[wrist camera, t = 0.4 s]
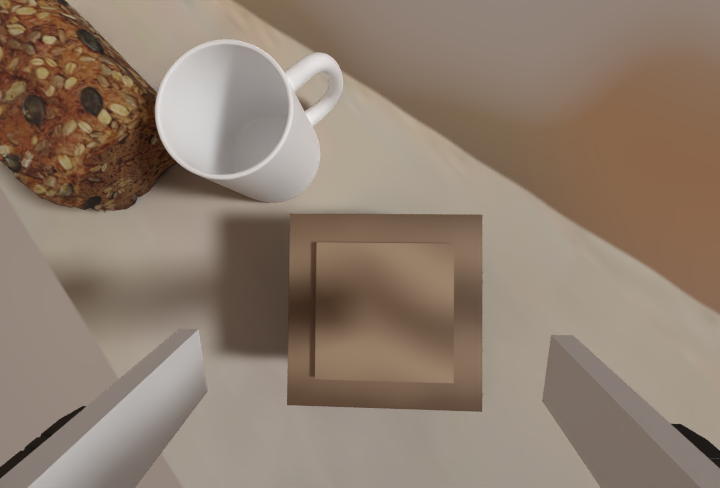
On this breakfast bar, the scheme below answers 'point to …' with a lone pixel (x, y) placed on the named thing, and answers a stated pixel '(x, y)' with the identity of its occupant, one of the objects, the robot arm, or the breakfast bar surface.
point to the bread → (74, 110)
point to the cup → (244, 118)
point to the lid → (385, 311)
